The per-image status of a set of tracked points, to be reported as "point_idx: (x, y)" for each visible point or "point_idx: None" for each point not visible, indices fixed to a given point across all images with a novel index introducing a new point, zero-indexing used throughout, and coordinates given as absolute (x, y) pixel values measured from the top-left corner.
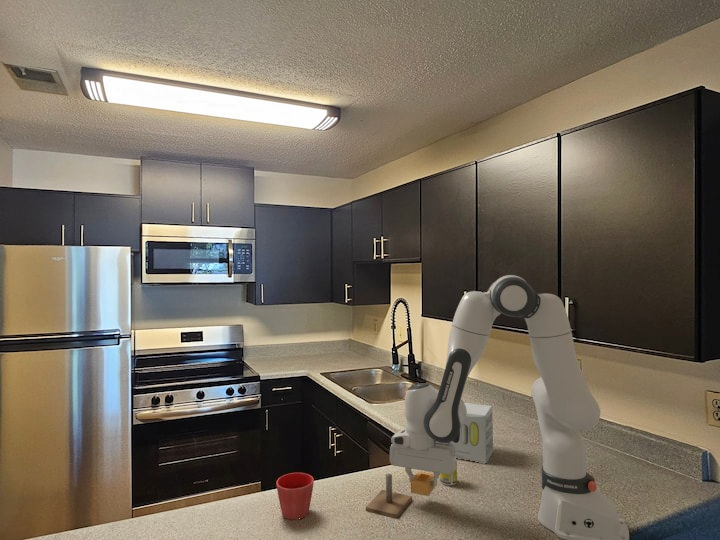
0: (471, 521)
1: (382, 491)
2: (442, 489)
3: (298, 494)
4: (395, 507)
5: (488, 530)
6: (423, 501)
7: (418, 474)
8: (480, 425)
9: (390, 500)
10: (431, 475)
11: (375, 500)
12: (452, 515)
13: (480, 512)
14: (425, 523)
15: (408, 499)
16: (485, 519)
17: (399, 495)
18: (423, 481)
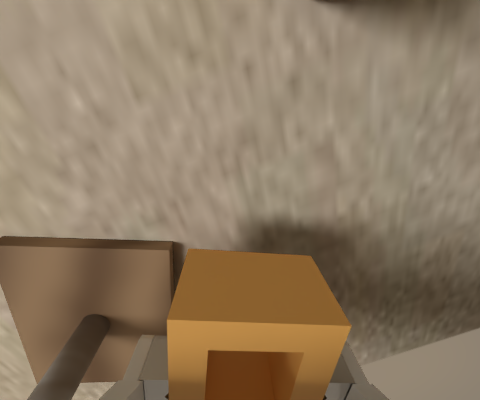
0: (420, 298)
1: (2, 260)
2: (298, 70)
3: None
4: None
5: (464, 322)
6: (228, 237)
7: (189, 367)
8: None
9: (102, 340)
10: (315, 352)
11: (34, 336)
12: (357, 289)
13: (466, 234)
14: None
15: (167, 282)
16: (472, 272)
17: (108, 265)
18: None
